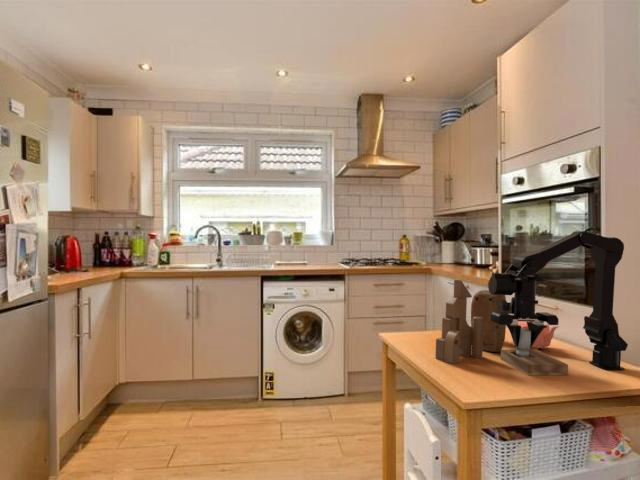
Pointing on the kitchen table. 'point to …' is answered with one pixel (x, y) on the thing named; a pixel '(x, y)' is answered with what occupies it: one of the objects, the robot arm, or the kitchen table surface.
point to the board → (535, 363)
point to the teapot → (540, 336)
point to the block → (488, 319)
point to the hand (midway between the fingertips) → (523, 346)
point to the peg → (524, 343)
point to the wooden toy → (459, 329)
